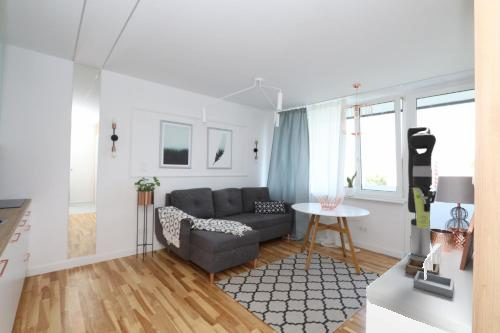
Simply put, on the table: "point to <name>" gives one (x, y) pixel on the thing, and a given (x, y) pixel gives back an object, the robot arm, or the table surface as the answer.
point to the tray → (434, 284)
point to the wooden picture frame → (419, 267)
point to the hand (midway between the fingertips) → (422, 210)
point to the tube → (421, 210)
